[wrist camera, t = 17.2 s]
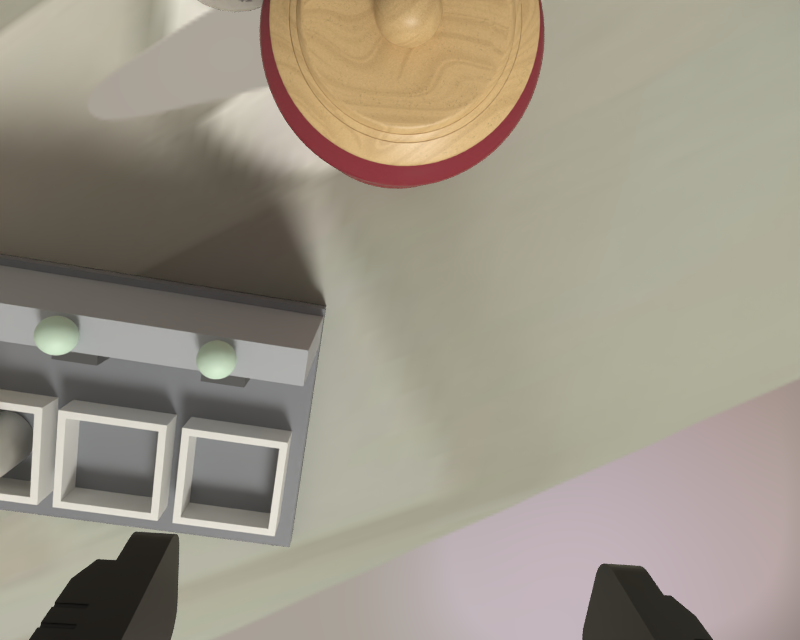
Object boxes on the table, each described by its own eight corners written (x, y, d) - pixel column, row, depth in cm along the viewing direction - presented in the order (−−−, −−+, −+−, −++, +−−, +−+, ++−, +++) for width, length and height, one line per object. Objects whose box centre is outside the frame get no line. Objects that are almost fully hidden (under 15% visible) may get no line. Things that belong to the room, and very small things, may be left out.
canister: (267, 145, 39) (180, 105, 22) (335, -59, 37) (297, -283, 20) (450, 217, 41) (504, 234, 23) (526, 26, 38) (650, -113, 21)
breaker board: (-54, 492, 43) (-214, 603, 31) (-49, 246, 40) (-227, 268, 28) (291, 538, 45) (261, 659, 33) (326, 306, 41) (305, 350, 30)
